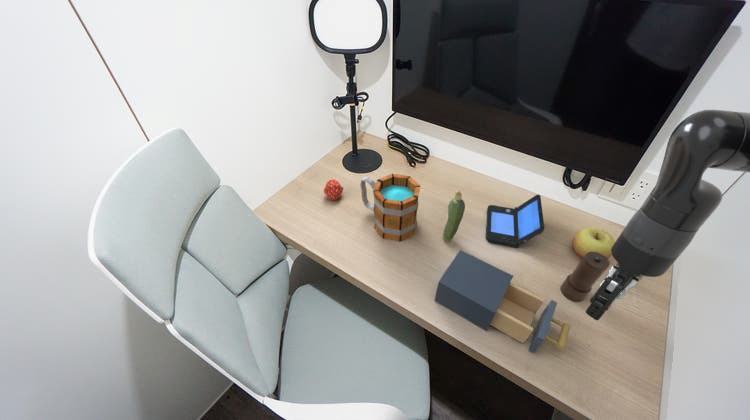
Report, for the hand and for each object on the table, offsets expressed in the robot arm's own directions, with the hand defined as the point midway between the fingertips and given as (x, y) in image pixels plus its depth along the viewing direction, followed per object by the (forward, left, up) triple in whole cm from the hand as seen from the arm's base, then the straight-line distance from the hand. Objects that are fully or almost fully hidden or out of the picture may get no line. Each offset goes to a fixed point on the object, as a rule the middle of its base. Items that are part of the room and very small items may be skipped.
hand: (602, 305), depth 58 cm
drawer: (+8, +6, -16) cm, 19 cm away
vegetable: (+37, +6, -18) cm, 41 cm away
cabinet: (+19, +12, -17) cm, 28 cm away
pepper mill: (+9, -12, -17) cm, 23 cm away
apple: (+16, -26, -18) cm, 35 cm away
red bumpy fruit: (+71, +30, -18) cm, 79 cm away
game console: (+33, -13, -18) cm, 40 cm away
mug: (+52, +19, -18) cm, 58 cm away
